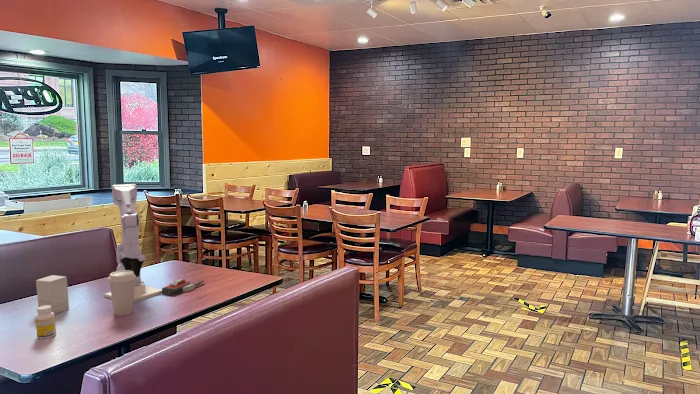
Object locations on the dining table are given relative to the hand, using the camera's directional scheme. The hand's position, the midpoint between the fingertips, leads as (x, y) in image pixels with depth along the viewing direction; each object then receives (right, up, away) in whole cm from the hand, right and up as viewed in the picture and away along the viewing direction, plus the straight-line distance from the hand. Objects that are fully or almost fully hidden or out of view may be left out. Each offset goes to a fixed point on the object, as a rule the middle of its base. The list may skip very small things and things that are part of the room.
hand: (133, 275), depth 209 cm
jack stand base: (0, -8, +1) cm, 8 cm away
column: (0, -4, 0) cm, 4 cm away
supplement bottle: (-10, -13, -42) cm, 45 cm away
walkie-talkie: (+18, -8, +9) cm, 21 cm away
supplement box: (-22, -11, -18) cm, 30 cm away
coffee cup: (+5, -11, -20) cm, 23 cm away
